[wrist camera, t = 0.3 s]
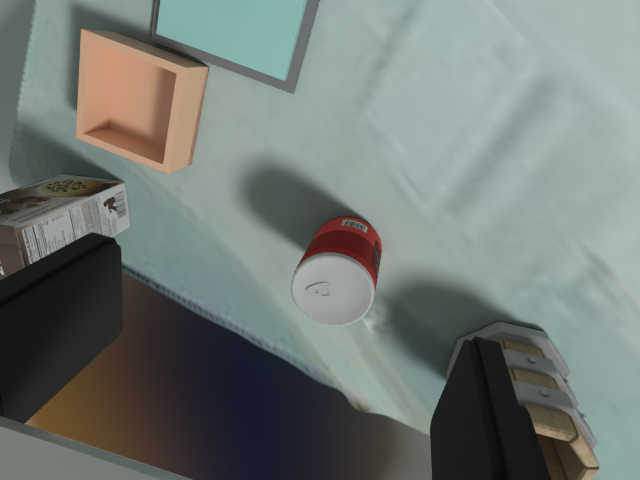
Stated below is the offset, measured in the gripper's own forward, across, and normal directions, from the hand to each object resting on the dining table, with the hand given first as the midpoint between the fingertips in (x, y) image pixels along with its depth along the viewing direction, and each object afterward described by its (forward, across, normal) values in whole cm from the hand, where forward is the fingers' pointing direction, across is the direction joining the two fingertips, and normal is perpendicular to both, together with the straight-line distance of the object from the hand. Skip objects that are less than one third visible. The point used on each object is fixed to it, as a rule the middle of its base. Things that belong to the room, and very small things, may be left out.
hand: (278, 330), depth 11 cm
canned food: (+36, 0, +14) cm, 38 cm away
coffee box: (+36, +33, +16) cm, 51 cm away
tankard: (+36, -24, +27) cm, 51 cm away
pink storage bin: (+35, +25, +2) cm, 43 cm away
